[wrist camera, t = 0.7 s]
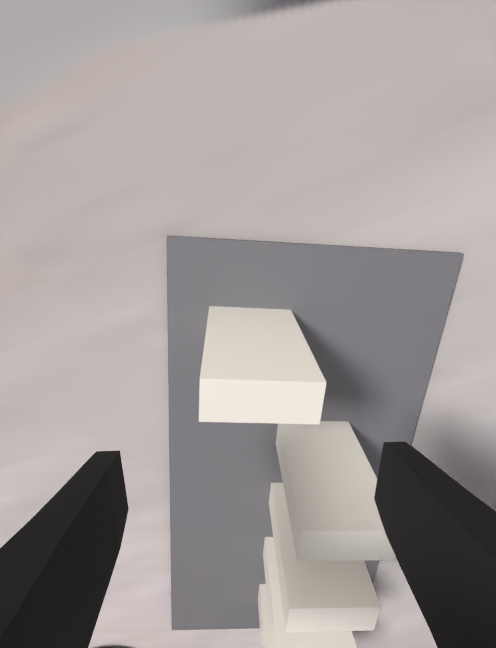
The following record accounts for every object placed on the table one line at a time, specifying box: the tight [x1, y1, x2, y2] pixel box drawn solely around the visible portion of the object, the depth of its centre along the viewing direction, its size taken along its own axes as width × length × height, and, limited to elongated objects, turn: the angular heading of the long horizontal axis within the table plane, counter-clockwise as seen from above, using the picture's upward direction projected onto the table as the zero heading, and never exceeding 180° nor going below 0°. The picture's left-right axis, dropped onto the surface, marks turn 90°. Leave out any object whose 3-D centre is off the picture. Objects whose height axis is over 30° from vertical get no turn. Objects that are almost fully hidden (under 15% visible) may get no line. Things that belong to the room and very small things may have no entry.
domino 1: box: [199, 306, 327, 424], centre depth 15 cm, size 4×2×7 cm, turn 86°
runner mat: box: [167, 236, 463, 630], centre depth 22 cm, size 14×28×1 cm, turn 176°
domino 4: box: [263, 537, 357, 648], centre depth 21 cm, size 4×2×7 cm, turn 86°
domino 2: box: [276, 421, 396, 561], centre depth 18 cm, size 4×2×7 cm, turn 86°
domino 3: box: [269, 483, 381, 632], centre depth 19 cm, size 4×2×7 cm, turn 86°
